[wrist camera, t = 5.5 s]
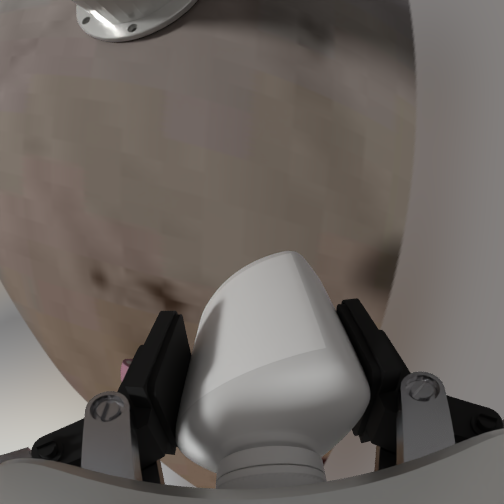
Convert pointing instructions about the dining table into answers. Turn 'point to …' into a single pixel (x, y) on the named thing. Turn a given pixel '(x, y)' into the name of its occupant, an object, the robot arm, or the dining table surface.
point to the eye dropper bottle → (270, 379)
